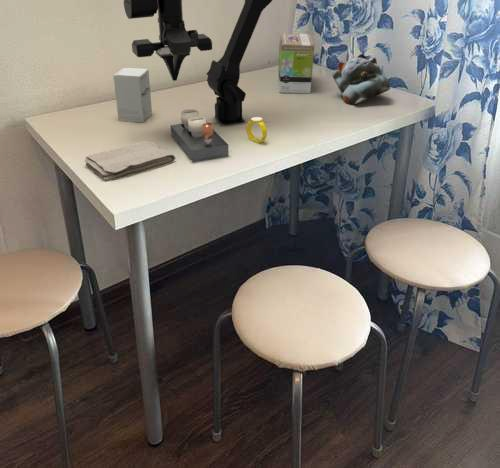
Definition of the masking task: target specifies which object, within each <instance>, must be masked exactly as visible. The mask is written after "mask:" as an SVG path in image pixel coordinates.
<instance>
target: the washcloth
mask: <svg viewBox="0 0 500 468" xmlns="http://www.w3.org/2000/svg"><path fill="white" fill-rule="evenodd" d="M175 160H176V156H175V155H174V154H173V153H171V152H169V151H167V150H164V149H162V148H161V147H160V146H159V145H157V144H155V143H153V142H151V141H149V140H146V141H145V140H144V141H141V142H136V143H132V144H128V145H122V146H119V147H116V148H112V149H108V150H104V151H100V152H97V153H96V152H95V153H92V154H90V155H86V156H85V158H84V162H85V165H87V166H88V169H89V170H90V171H92V172H93V173H95V174H96V175H97V176H98V177H99V178H101V179H102V180H103V181H106V182H107V181H112V180H117V179H122V178H126V177H129V176H133V175H137V174H140V173H143V172H146V171H151V170H153V169H157V168H159V167H163V166H166V165H169V164H170V165H171V164H173V162H175Z"/></svg>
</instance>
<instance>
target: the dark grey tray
mask: <svg viewBox="0 0 500 468" xmlns="http://www.w3.org/2000/svg"><path fill="white" fill-rule="evenodd" d="M170 137H171V138H172V139H173V140H174V141H175V143H176V144H177V145H178V147H179V148H180V149H181V150H182V152H183V153H184V154H185V155H186V157H187V158H188V159H189V160H190V161H191V163H197V162H204V161H210V160H213V159H215V160H216V159H220V158H226V157H229V156H230V155H229V143H227V141H225V140H224V138H223V137H221V135H220V134H218V133H217V132H216V131H215V130H214V129H213V138H211V144H212V145H211V146H205V140H204V138H203V136H202V137H195V138H192V134H191V132H190V131H189V130H185V125H184V124H182V123H177V124H170Z"/></svg>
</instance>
